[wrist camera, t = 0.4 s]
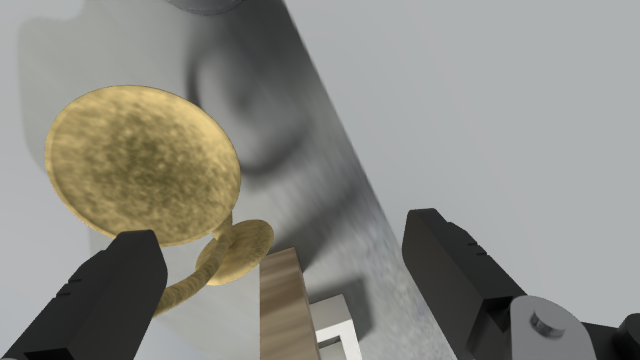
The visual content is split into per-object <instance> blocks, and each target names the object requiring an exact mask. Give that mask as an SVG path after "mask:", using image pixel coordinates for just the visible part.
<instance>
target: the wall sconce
mask: <svg viewBox="0 0 640 360" xmlns="http://www.w3.org/2000/svg"><path fill="white" fill-rule="evenodd" d="M45 163H46V170H47V173H48V176H49V179H50V182H51V184H52V186H53V188H54V190H55V191H56V193H57V195H58V196H59V197H60V199H61V201H62V202H63V203H64V204H65V205H66V207H67V208H68V209H69V210H70V211H71V212H72V213H73V214H74V215H75V216H77V217H78V218H79V219H80V220H81V221H83V222H84V223H85V224H87V225H88V226H89V227H91V228H93V229H94V230H96V231H98V232H100V233H102V234H104V235H106V236H108V237H110V238H113V239H115V238H116V236H117V235H118V234H119V233H120V232H123V231H134V230H147V229H151V230H153V231H154V233H155V234H156V237H157V240H158V243H159V246H160V247H168V246H176V245H181V244H185V243H189V242H192V241H194V240H197V239H199V238H201V237H203V236H205V235H207V234H209V233H210V232H212V234H213V236H214V237H215V238H213V239H212V240H211V241H210V242H209V243H208V244H207V245H206V247H205V248H204V249H203V250H202V252H201V253H200V255H199V257H198V259H197V262H196V266H195V271H196V272H194V273H193V274H192V275H190V276H189V277H187V278H186V279H184V280H182V281H181V282H179V283H177V284H174V285H172V286H170V287H167V288H165V290H164V292H163V294H162V297H161V299H160V301H159V303H158V306H157V308H156V310H155V312H154V315H153V317H152V318H154V317H156V316H158V315H160V314H162V313H164V312H166V311H168V310H170V309H171V308H173V307H175V306H177V305H179V304H180V303H182V302H184V301H186V300H187V299H189V298H190V297H191V296H193V295H194V294H196V293H197V292H198V291H199V290H200V289H201V288H203V287H204V286H205V285H206V284H207V285H221V284H225V283H228V282H231V281H233V280H235V279H238V278H239V277H241V276H243V275H245V274H246V273H247V272H249V271H250V270H252V269H253V268H254V267H255V266H256V265H257V264H258V263H260V261H261V260H262V259H263V258H264V257H265V256H266V254H267V253H268V251H269V250H270V248H271V246H272V243H273V240H274V232H273V229H272V227H271V226H270V225H269V224H268V223H267V222H265V221H263V220H257V219H256V220H247V221H243V222H240V223H237V224H235V225H233V226H232V210H233V208H234V206H235V204H236V201H237V199H238V195H239V192H240V185H241V171H240V165H239V160H238V157H237V154H236V151H235V149H234V147H233V145H232V143H231V141H230V139H229V138H228V136H227V135H226V133H225V132H224V130H223V129H222V128H221V127H220V126H219V124H218V123H217V122H216V121H215V120H214V119H213V118H212V117H210V116H209V115H208V114H207V113H206V112H205V111H203V110H202V109H201V108H199V107H198V106H196V105H195V104H193V103H191V102H190V101H188V100H186V99H184V98H182V97H180V96H177V95H175V94H173V93H170V92H167V91H164V90H161V89H157V88H152V87H146V86H136V85H120V86H111V87H106V88H101V89H98V90H95V91H92V92H89V93H87V94H85V95H83V96H81V97H79V98H77V99H75V100H74V101H73V102H71V103H70V104H69V105H67V106H66V107H65V108H64V109H63V110H62V111H61V112H60V113H59V115H58V116H57V117H56V119H55V120H54V122H53V124H52V125H51V128H50V130H49V133H48V135H47V139H46V144H45Z"/></svg>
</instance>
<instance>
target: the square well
mask: <svg viewBox="0 0 640 360" xmlns="http://www.w3.org/2000/svg"><path fill="white" fill-rule="evenodd" d="M310 310H311V314H312V319H313V323H314V328H315V333H316V337H317V342H321V341H324V340H327V339H330V338H332V337H335V336H338V335H340V339H341V341H340V342H337V343H334V344H331V345H329V346H326V347H323V348H320V349H319V351H320V356H321V360H362V357H361V353H360V349H359V345H358V341H357V337H356V333H355V329H354V325H353V321H352V318H351V315H350V313H349V310H348V307H347V305H346V302H345V299H344V297H343V294H340V295H337V296H334V297H331V298H328V299H325V300H322V301H319V302H316V303H313V304H310Z"/></svg>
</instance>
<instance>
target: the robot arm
mask: <svg viewBox="0 0 640 360" xmlns="http://www.w3.org/2000/svg"><path fill="white" fill-rule="evenodd" d="M167 1H168V2H170V3H172V4H173V5H175V6H177V7H178V8H180V9H183V10H186V11H188V12H191V13H196V14H203V15H211V14H220V13H223V12H225V11H228V10H231V9H232V8H234V7H235V6H237V5H238V4H240V3H241V2H242V1H243V0H167ZM402 256H403V260H404V263H405V265H406V267H407V269H408V271H409V272H410V274H411V276H412V278H413V280H414V281H415V283H416V285H417V287H418V289H419V290H420V292H421V294H422V296H423V298H424V299H425V301H426V303H427V305H428V307H429V309H430V310H431V312H432V314H433V316H434V318H435V319H436V321H437V323H438V325H439V327H440V328H441V330H442V332H443V334H444V336H445V337H446V339H447V341H448V343H449V344H450V346H451V348H452V350H453V352H454V354H455V355H456V357H457V359H458V360H640V313H635V314H631V315H629V316H627V318H625V320H624V321H623V322H622V324H621V325H620V326H619V328H614V327H608V326H603V325H596V324H590V323H585V322H580V321H579V320H578V319H577V318H576V317H575V316H573V315H572V314H571V313H570V312H568V311H567V310H566V309H564V308H562V307H561V306H559V305H557V304H555V303H553V302H551V301H549V300H546V299H544V298H540V297H536V296H528V295H527V294H526V293H525V292H524V291H523V290H522V289H521V288H520V287H519V286H518V285H517V284H516V283H515V282H514V280H513V279H512V278H511V277H510V276H509V275H508V274H507V273H506V272H505V271H504V270H503V269H502V268H501V267H500V266H499V265H498V264H497V263H496V262H495V261H494V260H493V259H492V257H490V255H487V252H486V251H485V250H484V249H483V248H482V247H481V246H480V245H478V244H477V242H476V241H475V240H474V239H473V238H472V237H471V236H470V235H469V234H468V232H467V231H465V230H463V229H462V228H460V227H458V226H457V225H455V224H454V223H451V222H447V221H446V220H445V219H444V218H443V217H442V216H441V215H440V214H439V213H438V211H437V210H436V209H434V208H428V209H417V210H416V209H415V210H410V211H409V212H408V215H407V221H406V226H405V231H404V237H403V243H402ZM167 277H168V272H167V266H166V263H165V260H164V258H163V255H162V252H161V249H160V246H159V243H158V240H157V237H156V234H155V233H154V231H153V230H151V229H147V230H134V231H123V232H120V233H119V234H118V235H117V236H116V238H115V239H114V240H113V241H112V243H111V244H110V245H109V246H108V248H107V249H106V250H102V251H100V252H98V253H97V254H96V255H94V256H93V257H91V258H90V259H89V260H87V261H86V262H84V263H83V264H82V265H81V266H80V267H79V268H78V269H77V271H76V272H75V273H74V274H73V275H72V276H71V278H70V279H69V280H68V284H65V285H64V286H63V287H62V288H61V289H60V291H59V292H58V293H57V294H56V298H53V299H52V300H51V301H50V302H49V303H48V304H47V306H46V307H45V308H44V309H43V310H42V311H41V313H40V314H39V315H38V316H37V317H36V318H35V320H34V321H33V322H32V323H31V324H30V325H29V327H28V328H27V329H26V330H25V332H23V334H22V335H21V336H20V337H19V338H18V339H17V341H16V342H15V343H14V344H13V345H12V346H11V348H10V349H9V350H8V351H7V352H6V353H5V355H4V356H3V357H2V358H1V359H0V360H133V359H134V357H135V355H136V353H137V350H138V348H139V346H140V344H141V341H142V339H143V337H144V335H145V333H146V330H147V328H148V326H149V324H150V321H151V319H152V317H153V315H154V312H155V310H156V308H157V306H158V303H159V301H160V299H161V297H162V294H163V292H164V290H165V288H166V284H167Z"/></svg>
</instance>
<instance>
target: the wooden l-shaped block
mask: <svg viewBox="0 0 640 360" xmlns="http://www.w3.org/2000/svg"><path fill="white" fill-rule="evenodd" d="M260 360H321V356H320V351H319V346H318V342H317V337H316V333H315V328H314V323H313V319H312V314H311V310H310V305H309V301H308V296H307V291H306V287H305V282H304V278H303V273H302V270H301V267H300V264H299V261H298V258H297V254H296V251H295V248H294V247H292V248H289V249H285V250H282V251H279V252H276V253H273V254H270V255H266V256H265V257H264V258H263V259H262V260H261V261H260Z"/></svg>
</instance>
